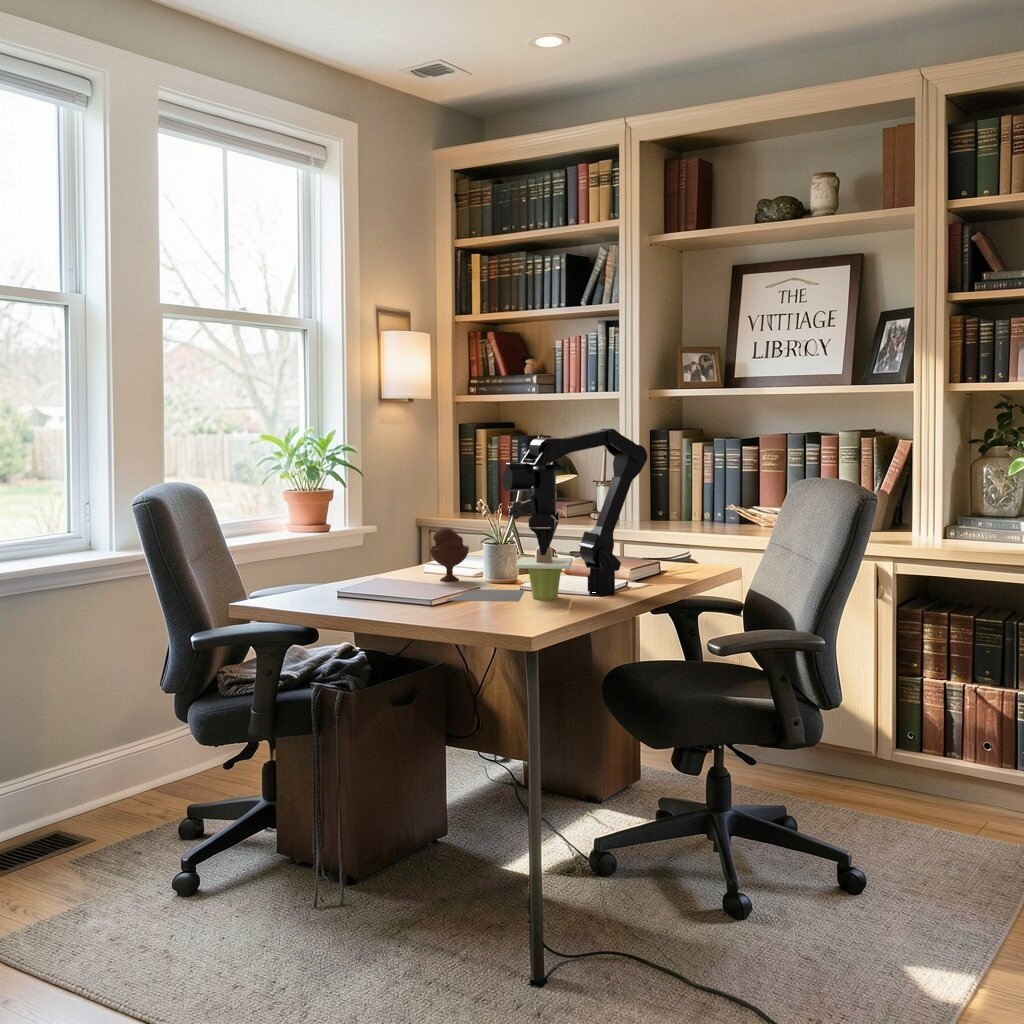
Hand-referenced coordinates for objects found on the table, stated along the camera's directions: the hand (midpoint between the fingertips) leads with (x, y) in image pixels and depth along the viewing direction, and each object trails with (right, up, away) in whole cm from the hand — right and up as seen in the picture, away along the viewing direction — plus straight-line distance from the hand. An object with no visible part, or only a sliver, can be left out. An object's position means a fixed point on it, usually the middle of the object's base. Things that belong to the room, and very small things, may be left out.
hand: (544, 552), depth 265 cm
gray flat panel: (-15, -11, +6) cm, 19 cm away
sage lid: (0, -3, 0) cm, 3 cm away
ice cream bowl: (-25, -9, +29) cm, 39 cm away
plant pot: (0, -12, +1) cm, 12 cm away
